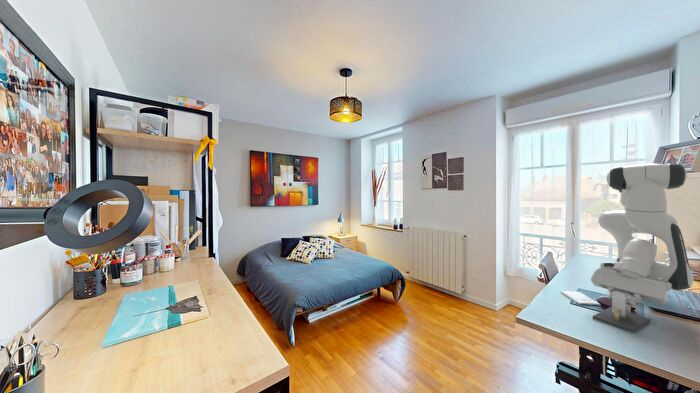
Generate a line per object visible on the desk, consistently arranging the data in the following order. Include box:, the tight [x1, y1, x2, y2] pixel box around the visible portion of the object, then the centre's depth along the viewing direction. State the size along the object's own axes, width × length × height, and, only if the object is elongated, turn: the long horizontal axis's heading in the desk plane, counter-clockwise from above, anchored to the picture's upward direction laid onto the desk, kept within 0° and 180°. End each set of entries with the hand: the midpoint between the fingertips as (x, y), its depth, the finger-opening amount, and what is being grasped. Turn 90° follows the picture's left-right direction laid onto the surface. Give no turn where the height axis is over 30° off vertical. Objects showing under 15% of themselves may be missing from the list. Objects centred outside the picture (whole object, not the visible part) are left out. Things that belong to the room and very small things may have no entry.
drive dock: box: [592, 306, 652, 334], centre depth 96 cm, size 16×11×4 cm
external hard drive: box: [560, 290, 601, 306], centre depth 115 cm, size 2×8×12 cm
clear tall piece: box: [611, 290, 632, 316], centre depth 96 cm, size 5×4×8 cm
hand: (620, 301), depth 96 cm, fingers closed on clear tall piece, 4 cm apart
